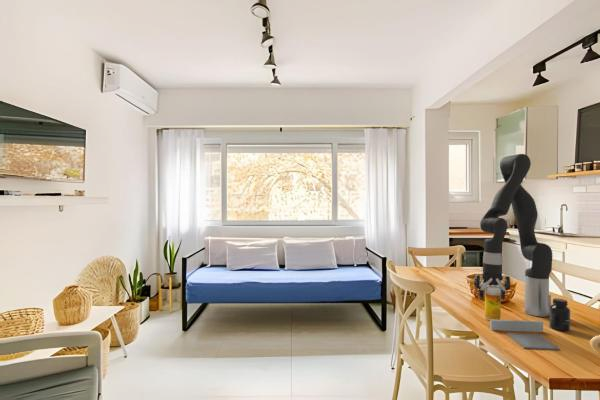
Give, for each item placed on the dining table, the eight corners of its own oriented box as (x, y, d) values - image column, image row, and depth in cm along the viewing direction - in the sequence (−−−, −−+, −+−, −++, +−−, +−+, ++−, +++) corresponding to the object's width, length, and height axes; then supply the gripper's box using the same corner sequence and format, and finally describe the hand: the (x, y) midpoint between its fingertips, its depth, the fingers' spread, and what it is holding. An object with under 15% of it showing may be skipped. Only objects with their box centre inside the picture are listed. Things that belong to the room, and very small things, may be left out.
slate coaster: (539, 336, 134) (539, 334, 134) (559, 350, 122) (559, 348, 122) (507, 334, 135) (507, 333, 135) (523, 348, 123) (523, 346, 123)
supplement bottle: (571, 333, 137) (571, 303, 137) (550, 329, 141) (550, 300, 140) (568, 327, 143) (569, 299, 143) (548, 324, 146) (549, 296, 146)
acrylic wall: (541, 331, 139) (541, 321, 139) (543, 332, 138) (543, 322, 138) (490, 329, 141) (490, 319, 141) (491, 330, 140) (491, 320, 140)
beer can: (494, 323, 148) (495, 288, 148) (481, 318, 153) (482, 285, 153) (503, 320, 151) (503, 286, 150) (490, 316, 156) (490, 283, 156)
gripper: (505, 261, 155) (504, 296, 155) (472, 260, 156) (471, 295, 156) (513, 264, 147) (512, 302, 147) (479, 263, 149) (478, 300, 149)
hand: (491, 298), depth 152 cm, fingers open, 8 cm apart
